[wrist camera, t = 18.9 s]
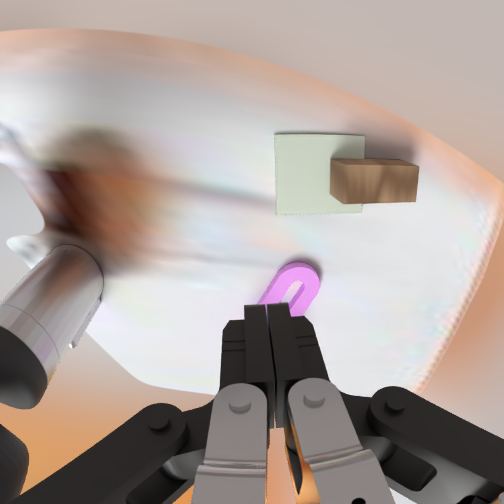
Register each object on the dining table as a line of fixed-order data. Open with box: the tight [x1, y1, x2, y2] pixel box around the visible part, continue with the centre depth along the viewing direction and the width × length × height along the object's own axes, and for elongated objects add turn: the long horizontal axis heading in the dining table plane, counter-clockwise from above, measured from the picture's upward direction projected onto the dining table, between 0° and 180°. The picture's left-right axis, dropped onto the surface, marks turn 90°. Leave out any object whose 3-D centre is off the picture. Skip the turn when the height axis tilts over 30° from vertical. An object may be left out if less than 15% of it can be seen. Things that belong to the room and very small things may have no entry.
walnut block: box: [330, 158, 419, 205], centre depth 32 cm, size 4×4×9 cm
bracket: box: [258, 262, 320, 317], centre depth 38 cm, size 13×6×7 cm, turn 152°
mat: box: [275, 134, 365, 216], centre depth 34 cm, size 9×10×1 cm
